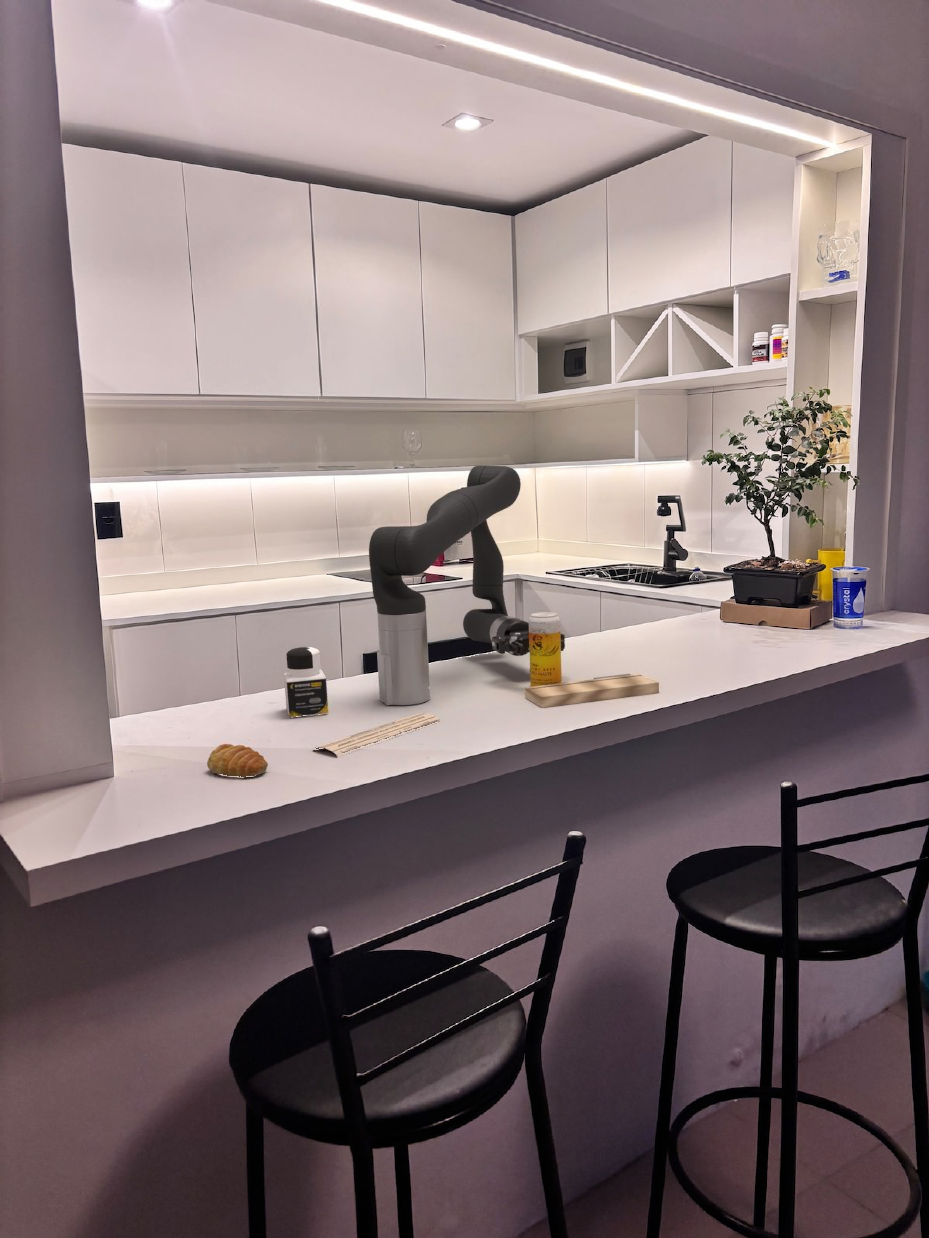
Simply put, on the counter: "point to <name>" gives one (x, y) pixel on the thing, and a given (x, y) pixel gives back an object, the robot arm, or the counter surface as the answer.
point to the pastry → (236, 761)
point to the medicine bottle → (305, 683)
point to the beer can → (545, 649)
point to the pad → (612, 676)
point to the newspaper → (380, 733)
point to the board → (591, 690)
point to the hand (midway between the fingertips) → (542, 648)
